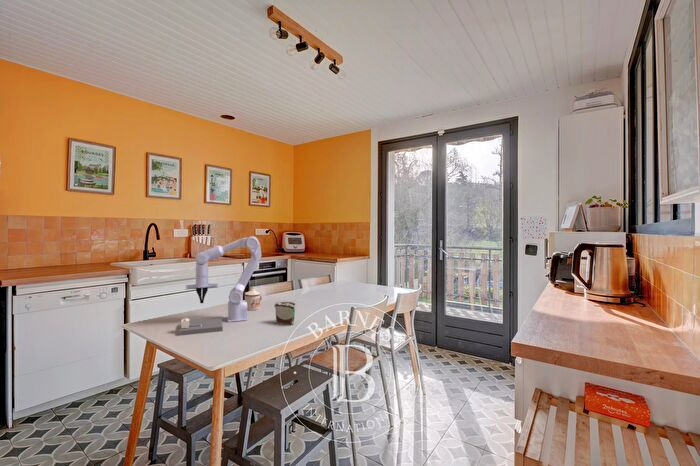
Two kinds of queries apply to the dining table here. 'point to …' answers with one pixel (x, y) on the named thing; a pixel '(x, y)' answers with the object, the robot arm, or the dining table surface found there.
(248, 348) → the dining table surface
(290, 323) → the food container
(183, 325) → the fader knob
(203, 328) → the console
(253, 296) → the teacup with lid
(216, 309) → the dining table surface
